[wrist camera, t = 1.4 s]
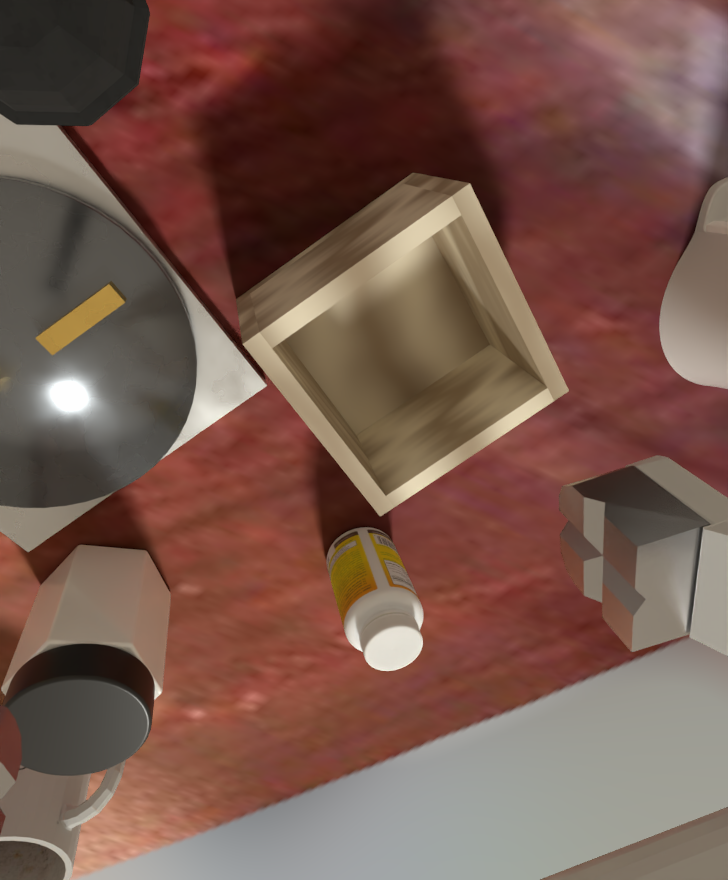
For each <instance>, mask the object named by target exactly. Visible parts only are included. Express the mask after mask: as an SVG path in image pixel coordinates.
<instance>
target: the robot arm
mask: <svg viewBox="0 0 728 880" xmlns="http://www.w3.org/2000/svg"><path fill="white" fill-rule="evenodd" d="M660 339H661V344H662V348H663V351H664V354H665V356H666V358H667V360H668V362H669V363H670V365H671V366H672V367H673V369H674V370H675V371H676V372H677V373H678V374H679V375H681V376H682V377H683V378H685V379H687V380H689V381H691V382H694V383H696V384H700V385H706V386H714V387H721V388H726V389H728V177H726V178H724V179H722V180H720V181H718V182H716V183H715V184H714V185H713V186H712V187H711V188H710V189H709V190H708V192H707V194H706V196H705V198H704V201H703V203H702V207H701V210H700V213H699V217H698V221H697V225H696V229H695V233H694V235H693V237H692V239H691V241H690V243H689V245H688V246H687V248H686V250H685V251H684V253H683V255H682V257H681V258H680V260H679V262H678V264H677V265H676V267H675V269H674V271H673V273H672V276H671V278H670V280H669V283H668V285H667V288H666V291H665V294H664V298H663V302H662V306H661V312H660ZM559 511H560V512H561V513H562V514H563V515H564V516H565V517H566V518H567V519H568V522H567V524H566V525H565V527H564V529H563V530H562V532H561V533H560V546H561V554H562V557H563V560H564V564H565V567H566V570H567V572H568V573H569V575H570V577H571V579H572V580H573V582H574V584H575V585H576V586H577V588H578V589H579V590H580V591H581V592H582V594H583V595H584V596H587V597H589V598H592V599H594V600H597V601H599V602H602V618H603V619H604V620H605V621H606V622H607V624H608V625H609V626H610V627H611V628H612V630H613V631H614V632H615V633H616V634H617V635H618V637H619V638H620V639H621V640H622V641H623V643H624V644H625V645H626V646H627V647H628V648H629V650H630V651H631V652H634V651H637V650H640V649H643V648H647V647H650V646H653V645H656V644H659V643H663V642H666V641H669V640H672V639H676V638H679V637H682V636H685V635H688V634H690V638H692V639H694V640H696V641H698V642H700V643H702V644H704V645H706V646H708V647H710V648H712V649H714V650H716V651H718V652H720V653H722V654H724V655H726V656H728V498H727V497H725V496H724V495H722V494H721V493H719V492H718V491H716V490H715V489H713V488H712V487H711V486H709V485H708V484H706V483H705V482H703V481H702V480H700V479H699V478H697V477H696V476H694V475H693V474H691V473H690V472H688V471H687V470H685V469H684V468H683V467H681V466H680V465H678V464H677V463H675V462H674V461H672V460H671V459H669V458H667V457H663V456H658V455H657V456H654V457H651V458H648V459H645V460H642V461H639V462H636V463H633V464H630V465H627V466H625V467H624V468H620V469H617V470H614V471H610V472H607V473H604V474H601V475H597V476H594V477H591V478H588V479H584V480H581V481H578V482H575V483H571V484H568V485H565V486H562V488H561V491H560V494H559ZM21 761H22V749H21V734H20V731H19V728H18V725H17V723H16V720H15V718H14V717H13V715H12V714H11V713H10V711H9V710H8V708H7V707H5V706H2V705H0V800H1V799H2V798H3V797H4V795H5V794H6V793H7V792H8V791H9V789H10V788H11V787H12V786H13V784H14V783H15V782H16V779H17V776H18V772H19V768H20V764H21ZM5 817H6V816H5V814H4V813H3V811H2V809H1V808H0V834H1V831H2V827H3V824H4V821H5ZM540 880H728V807H726V808H724V809H721V810H719V811H716V812H714V813H711V814H709V815H706V816H703V817H701V818H698V819H696V820H693V821H690V822H688V823H685V824H683V825H680V826H677V827H675V828H672V829H670V830H667V831H664V832H662V833H659V834H657V835H654V836H652V837H649V838H646V839H644V840H641V841H639V842H636V843H634V844H631V845H628V846H626V847H623V848H621V849H618V850H615V851H613V852H610V853H608V854H605V855H602V856H600V857H597V858H595V859H592V860H590V861H587V862H584V863H582V864H580V865H577V866H574V867H571V868H569V869H566V870H564V871H561V872H559V873H556V874H553V875H551V876H548V877H546V878H543V879H540Z"/></svg>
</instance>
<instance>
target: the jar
mask: <svg viewBox="0 0 728 880" xmlns="http://www.w3.org/2000/svg"><path fill="white" fill-rule="evenodd" d="M170 600H171V593H170V592H169V590H168V588H167V586H166V584H165V583H164V581H163V579H162V577H161V575H160V573H159V572H158V570H157V568H156V566H155V564H154V563H153V561H152V559H151V557H150V555H149V554H148V552H147V551H146V550H138V549H126V548H114V547H103V546H92V545H78V546H77V547H76V548H75V549H74V550H73V551H72V552H71V553H70V555H69V556H68V557H67V558H66V559H65V560H64V561H63V562H62V563H61V564H60V565H59V566H58V567H57V568H56V569H55V571H54V572H53V573H52V574H51V575H50V576H49V577H48V578H47V579H46V580H45V581H44V582H43V583H42V584H41V586H40V588H39V590H38V593H37V595H36V598H35V601H34V603H33V606H32V609H31V611H30V614H29V616H28V619H27V622H26V624H25V627H24V629H23V632H22V635H21V637H20V640H19V643H18V645H17V648H16V650H15V653H14V656H13V658H12V661H11V664H10V666H9V669H8V671H7V674H6V677H5V679H4V682H3V685H2V687H1V691H2V692H3V693H4V694H5V698H4V701H3V704H2V706H5V707H7V708H8V710H9V711H10V713H11V714H12V715H13V717H14V718H15V720H16V723H17V725H18V728H19V731H20V734H21V749H22V761H21V764H20V765H21V766H23V767H26V768H28V769H30V770H33V771H36V772H40V773H44V774H50V775H59V776H76V775H85V774H91V773H95V772H99V771H103V770H106V769H108V768H111V767H113V766H116V765H118V764H120V763H121V762H123V761H125V760H126V759H128V758H129V757H131V756H132V755H133V754H134V753H135V752H136V751H138V750H139V748H140V747H141V746H142V745H143V744H144V742H145V741H146V739H147V737H148V735H149V733H150V730H151V725H152V716H153V707H154V700H155V699H156V698H157V697H158V696H159V695H160V694H161V693H162V689H163V678H164V667H165V656H166V645H167V634H168V623H169V612H170Z"/></svg>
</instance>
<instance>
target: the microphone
mask: <svg viewBox="0 0 728 880" xmlns="http://www.w3.org/2000/svg"><path fill="white" fill-rule="evenodd" d="M149 16H150V12H149V8H148V5H147V3H146V0H0V114H1V115H3V116H4V117H6V118H7V119H9V120H10V121H12V122H13V123H15V124H16V125H59V126H89V125H92V124H93V123H94V122H96V121H97V120H98V119H99V118H100V117H101V116H103V115H104V114H105V113H106V112H107V111H108V110H109V109H111V108H112V107H113V106H114V105H115V104H116V103H118V102H119V101H120V100H121V99H122V98H123V97H125V96H126V95H127V94H128V93H129V92H130V91H132V90H133V89H134V88H135V87H136V86H137V85H138V84H139V78H140V72H141V66H142V59H143V53H144V47H145V41H146V35H147V29H148V22H149Z"/></svg>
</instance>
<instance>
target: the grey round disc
mask: <svg viewBox="0 0 728 880" xmlns="http://www.w3.org/2000/svg"><path fill="white" fill-rule="evenodd" d="M196 379H197V352H196V343H195V337H194V333H193V329H192V325H191V321H190V318H189V315H188V313H187V310H186V308H185V305H184V302H183V300H182V298H181V296H180V294H179V292H178V291H177V289H176V287H175V285H174V283H173V282H172V280H171V278H170V277H169V275H168V274H167V273H166V271H165V270H164V268H163V267H162V266H161V264H160V263H159V262H158V260H157V259H156V258H155V257H154V256H153V255H152V254H151V252H150V251H149V250H148V249H147V248H146V247H145V246H144V245H143V244H142V243H141V242H140V241H139V240H138V239H137V238H136V237H135V236H133V235H132V234H131V233H130V232H129V231H128V230H127V229H125V228H124V227H123V226H122V225H121V224H119V223H118V222H116V221H115V220H113V219H112V218H110V217H109V216H108V215H106V214H105V213H103V212H102V211H100V210H99V209H97V208H95V207H93V206H91V205H89V204H87V203H86V202H84V201H82V200H80V199H78V198H76V197H74V196H71V195H69V194H66V193H64V192H61V191H59V190H56V189H54V188H51V187H48V186H45V185H41V184H37V183H33V182H29V181H26V180H22V179H15V178H8V177H1V176H0V506H10V507H19V508H49V507H60V506H68V505H73V504H78V503H83V502H87V501H90V500H93V499H97V498H100V497H103V496H106V495H108V494H110V493H112V492H115V491H117V490H119V489H121V488H123V487H125V486H127V485H128V484H130V483H132V482H133V481H135V480H137V479H138V478H140V477H141V476H142V475H144V474H145V473H146V472H147V471H149V470H150V469H151V468H152V467H154V466H155V465H156V464H157V463H158V462H159V461H160V460H161V459H162V457H163V456H164V455H165V454H166V453H167V452H168V451H169V449H170V448H171V447H172V445H173V444H174V442H175V441H176V440H177V438H178V437H179V435H180V433H181V431H182V429H183V427H184V425H185V423H186V421H187V418H188V416H189V413H190V410H191V407H192V404H193V399H194V394H195V388H196Z"/></svg>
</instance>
